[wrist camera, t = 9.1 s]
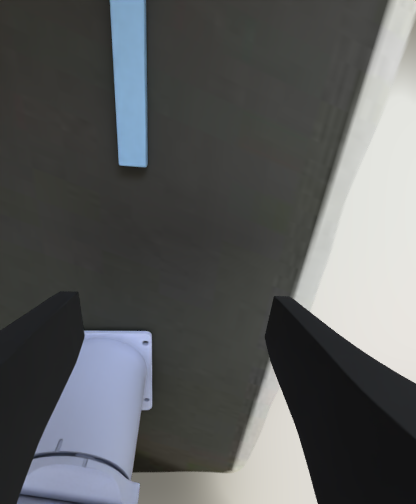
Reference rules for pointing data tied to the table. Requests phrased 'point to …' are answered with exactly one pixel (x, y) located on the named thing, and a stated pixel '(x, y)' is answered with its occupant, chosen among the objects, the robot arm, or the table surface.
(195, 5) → the table surface
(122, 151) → the spoon
